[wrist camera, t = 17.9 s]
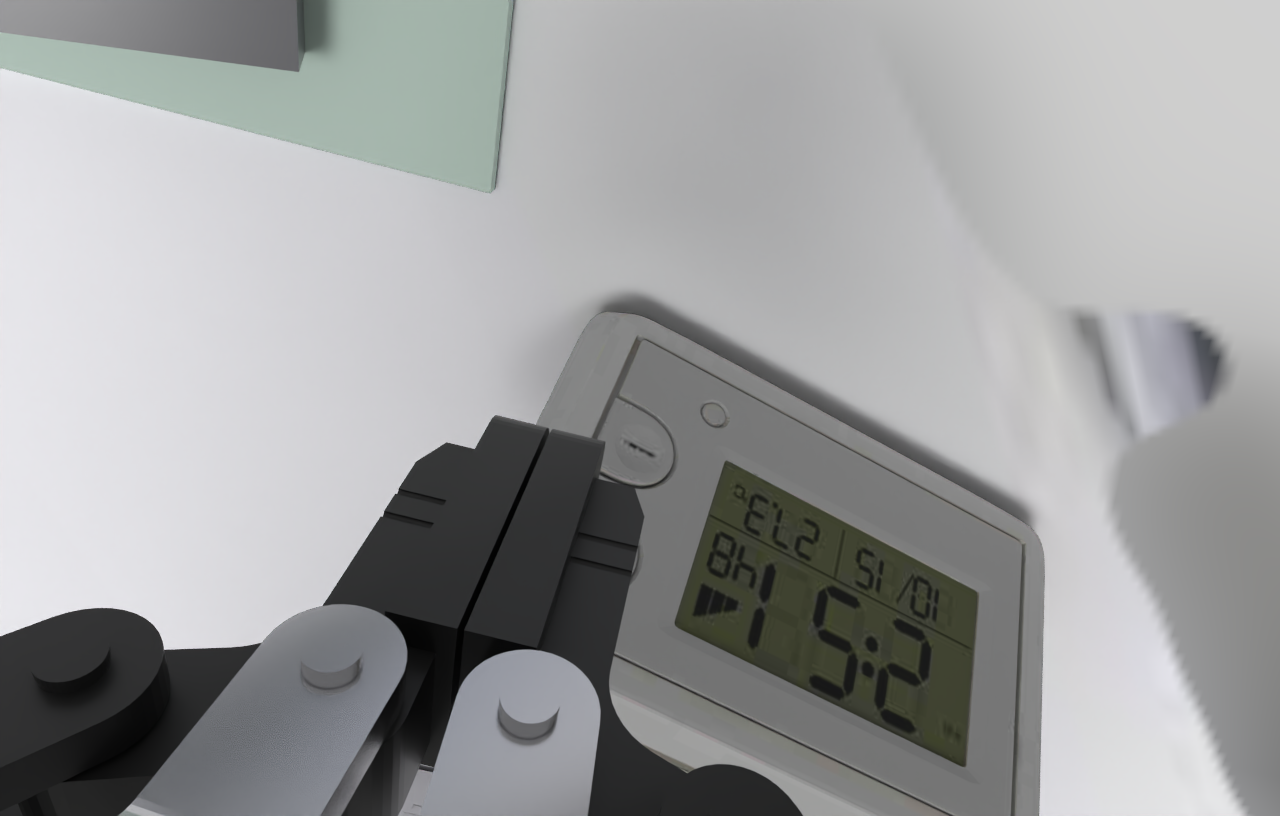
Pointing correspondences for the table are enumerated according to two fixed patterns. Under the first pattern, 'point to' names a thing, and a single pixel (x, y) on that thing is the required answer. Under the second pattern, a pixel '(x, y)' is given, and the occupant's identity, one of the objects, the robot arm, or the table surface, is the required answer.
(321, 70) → the mat
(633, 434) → the digital clock
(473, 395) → the table surface
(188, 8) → the domino
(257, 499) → the table surface
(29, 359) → the table surface
